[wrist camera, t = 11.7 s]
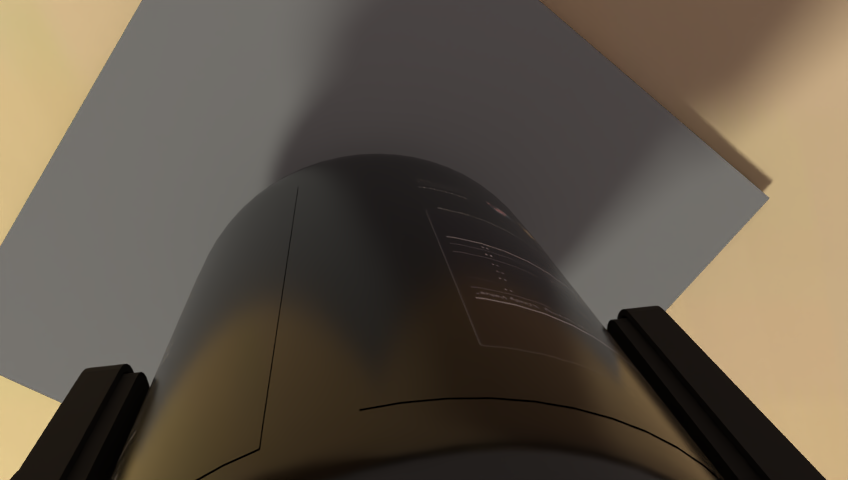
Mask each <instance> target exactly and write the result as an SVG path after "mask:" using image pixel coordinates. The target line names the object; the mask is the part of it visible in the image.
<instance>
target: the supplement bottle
mask: <svg viewBox="0 0 848 480" xmlns="http://www.w3.org/2000/svg"><path fill="white" fill-rule="evenodd" d="M110 480H725V479H724V478H723V477H722V476H721V474H720V473H719V472H718V471H717V469H716V468H715V467H714V465H713V464H712V463H711V462H710V460H709V459H708V458H707V457H706V455H705V454H704V453H703V451H702V450H701V449H700V448H699V446H698V445H697V444H696V443H695V441H694V440H693V439H692V437H691V436H690V435H689V434H688V432H687V431H686V430H685V429H684V427H683V426H682V425H681V424H680V422H679V421H678V420H677V418H676V417H675V416H674V415H673V413H672V412H671V411H670V410H669V408H668V407H667V406H666V405H665V403H664V402H663V401H662V399H661V398H660V397H659V396H658V394H657V393H656V392H655V391H654V389H653V388H652V387H651V386H650V384H649V383H648V382H647V380H646V379H645V378H644V377H643V375H642V374H641V373H640V372H639V370H638V369H637V368H636V366H635V365H634V364H633V363H632V361H631V360H630V359H629V358H628V356H627V355H626V354H625V353H624V351H623V350H622V349H621V347H620V346H619V345H618V344H617V342H616V341H615V340H614V339H613V337H612V336H611V335H610V334H609V332H608V331H607V330H606V328H605V327H604V326H603V325H602V323H601V322H600V321H599V320H598V318H597V317H596V316H595V315H594V313H593V312H592V311H591V309H590V308H589V307H588V306H587V304H586V303H585V302H584V301H583V299H582V298H581V297H580V295H579V294H578V293H577V292H576V290H575V289H574V288H573V287H572V285H571V284H570V283H569V282H568V280H567V279H566V278H565V276H564V275H563V274H562V273H561V271H560V270H559V269H558V268H557V266H556V265H555V264H554V263H553V261H552V260H551V259H550V257H549V256H548V255H547V254H546V252H545V251H544V250H543V249H542V247H541V246H540V245H539V244H538V242H537V241H536V240H535V238H534V237H533V236H532V235H531V234H530V232H529V231H528V230H527V229H526V228H525V227H524V226H523V224H522V223H521V222H520V221H519V220H518V219H517V218H516V216H515V215H514V214H513V213H512V212H511V211H510V209H509V208H508V207H507V206H506V205H504V204H503V203H502V202H501V201H500V200H499V199H498V198H497V197H496V196H495V195H493V194H492V193H491V192H490V191H488V190H487V189H486V188H484V187H483V186H482V185H480V184H479V183H477V182H476V181H474V180H472V179H471V178H469V177H467V176H466V175H464V174H462V173H460V172H457V171H455V170H453V169H451V168H449V167H446V166H443V165H440V164H438V163H435V162H432V161H428V160H424V159H420V158H416V157H410V156H403V155H396V154H360V155H352V156H345V157H339V158H335V159H331V160H327V161H323V162H319V163H316V164H314V165H311V166H308V167H305V168H302V169H300V170H298V171H296V172H294V173H292V174H290V175H287V176H285V177H284V178H282V179H280V180H279V181H277V182H275V183H274V184H272V185H270V186H269V187H267V188H266V189H265V190H263V191H262V192H261V193H259V194H258V195H256V196H255V197H254V198H253V199H252V200H251V201H250V202H249V203H247V204H246V205H245V206H244V207H243V208H242V209H241V210H240V211H239V212H238V213H237V214H236V216H235V217H234V218H233V219H232V220H231V221H230V222H229V224H228V225H227V226H226V228H225V229H224V231H223V232H222V233H221V235H220V236H219V238H218V239H217V240H216V242H215V244H214V246H213V247H212V249H211V251H210V253H209V254H208V256H207V258H206V260H205V262H204V265H203V267H202V269H201V271H200V273H199V275H198V277H197V279H196V281H195V284H194V286H193V288H192V291H191V293H190V295H189V298H188V300H187V302H186V305H185V307H184V309H183V311H182V314H181V316H180V318H179V321H178V323H177V325H176V328H175V330H174V332H173V335H172V337H171V339H170V342H169V344H168V346H167V349H166V351H165V353H164V356H163V358H162V360H161V362H160V365H159V367H158V369H157V372H156V374H155V376H154V379H153V381H152V383H151V386H150V388H149V390H148V393H147V395H146V397H145V400H144V402H143V404H142V407H141V409H140V411H139V413H138V416H137V418H136V420H135V423H134V425H133V427H132V430H131V432H130V434H129V437H128V439H127V441H126V444H125V446H124V448H123V451H122V453H121V455H120V457H119V460H118V462H117V464H116V467H115V469H114V471H113V474H112V476H111V478H110Z"/></svg>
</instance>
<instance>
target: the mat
mask: <svg viewBox="0 0 848 480" xmlns="http://www.w3.org/2000/svg"><path fill="white" fill-rule="evenodd" d="M360 154H396V155H403V156H410V157H416V158H420V159H424V160H428V161H432V162H435V163H438V164H440V165H443V166H446V167H449V168H451V169H453V170H455V171H457V172H460V173H462V174H464V175H466V176H467V177H469V178H471V179H472V180H474V181H476V182H477V183H479V184H480V185H482V186H483V187H484V188H486V189H487V190H488V191H490V192H491V193H492V194H493V195H495V196H496V197H497V198H498V199H499V200H500V201H501V202H502V203H503V204H504V205H506V206H507V207H508V208H509V209H510V211H511V212H512V213H513V214H514V215H515V216H516V218H517V219H518V220H519V221H520V222H521V223H522V224H523V226H524V227H525V228H526V229H527V230H528V231H529V232H530V234H531V235H532V236H533V237H534V238H535V240H536V241H537V242H538V244H539V245H540V246H541V247H542V249H543V250H544V251H545V252H546V254H547V255H548V256H549V257H550V259H551V260H552V261H553V263H554V264H555V265H556V266H557V268H558V269H559V270H560V271H561V273H562V274H563V275H564V276H565V278H566V279H567V280H568V282H569V283H570V284H571V285H572V287H573V288H574V289H575V290H576V292H577V293H578V294H579V295H580V297H581V298H582V299H583V301H584V302H585V303H586V304H587V306H588V307H589V308H590V309H591V311H592V312H593V313H594V315H595V316H596V317H597V318H598V320H599V321H600V322H601V323H602V325H603V326H604V327H605V328H606V330H607V325H608V322H609V321H610V320H613V319H617V316H618V314H619V312H620V311H621V310H622V309H629V308H638V307H647V306H660V307H661V308H662V309H663V310H664V311H666V310H667V309H668V308H669V307H670V306H671V304H672V303H673V302H674V301H675V300H676V299H677V298H678V297H679V296H680V295H681V294H682V293H683V291H684V290H685V289H686V288H687V287H688V286H689V285H690V284H691V283H692V282H693V281H694V280H695V278H696V277H697V276H698V275H699V274H700V273H701V272H702V271H703V270H704V269H705V268H706V266H707V265H708V264H709V263H710V262H711V261H712V260H713V259H714V258H715V257H716V256H717V255H718V253H719V252H720V251H721V250H722V249H723V248H724V247H725V246H726V245H727V244H728V243H729V242H730V240H731V239H732V238H733V237H734V236H735V235H736V234H737V233H738V232H739V231H740V230H741V229H742V227H743V226H744V225H745V224H746V223H747V222H748V221H749V220H750V219H751V218H752V217H753V216H754V214H755V213H756V212H757V211H758V210H759V209H760V208H761V207H762V206H763V205H764V204H765V203H766V201H767V200H768V199H769V197H768V196H767V195H765V194H764V193H763V192H762V191H761V190H760V189H758V188H757V187H756V186H755V185H754V184H753V183H751V182H750V181H749V180H748V179H747V178H746V177H744V176H743V175H742V174H741V173H740V172H739V171H737V170H736V169H735V168H734V167H733V166H732V165H730V164H729V163H728V162H727V161H726V160H725V159H723V158H722V157H721V156H720V155H719V154H718V153H716V152H715V151H714V150H713V149H712V148H711V147H709V146H708V145H707V144H706V143H705V142H704V141H702V140H701V139H700V138H699V137H698V136H697V135H695V134H694V133H693V132H692V131H691V130H690V129H688V128H687V127H686V126H685V125H684V124H683V123H681V122H680V121H679V120H678V119H677V118H676V117H674V116H673V115H672V114H671V113H670V112H669V111H667V110H666V109H665V108H664V107H663V106H662V105H660V104H659V103H658V102H657V101H656V100H655V99H653V98H652V97H651V96H650V95H649V94H648V93H646V92H645V91H644V90H643V89H642V88H641V87H639V86H638V85H637V84H636V83H635V82H634V81H632V80H631V79H630V78H629V77H628V76H627V75H625V74H624V73H623V72H622V71H621V70H620V69H618V68H617V67H616V66H615V65H614V64H613V63H611V62H610V61H609V60H608V59H607V58H606V57H604V56H603V55H602V54H601V53H600V52H599V51H597V50H596V49H595V48H594V47H593V46H592V45H590V44H589V43H588V42H587V41H586V40H585V39H583V38H582V37H581V36H580V35H579V34H578V33H576V32H575V31H574V30H573V29H572V28H571V27H569V26H568V25H567V24H566V23H565V22H564V21H562V20H561V19H560V18H559V17H558V16H557V15H555V14H554V13H553V12H552V11H551V10H550V9H548V8H547V7H546V6H545V5H544V4H543V3H541V2H540V1H539V0H142V1H141V3H140V5H139V7H138V8H137V10H136V12H135V14H134V15H133V17H132V19H131V20H130V22H129V24H128V26H127V27H126V29H125V31H124V33H123V34H122V36H121V38H120V40H119V41H118V43H117V45H116V47H115V48H114V50H113V52H112V53H111V55H110V57H109V59H108V60H107V62H106V64H105V66H104V67H103V69H102V71H101V73H100V74H99V76H98V78H97V80H96V81H95V83H94V85H93V86H92V88H91V90H90V92H89V93H88V95H87V97H86V99H85V100H84V102H83V104H82V106H81V107H80V109H79V111H78V113H77V114H76V116H75V118H74V119H73V121H72V123H71V125H70V126H69V128H68V130H67V132H66V133H65V135H64V137H63V139H62V140H61V142H60V144H59V146H58V147H57V149H56V151H55V152H54V154H53V156H52V158H51V159H50V161H49V163H48V165H47V166H46V168H45V170H44V172H43V173H42V175H41V177H40V179H39V180H38V182H37V184H36V185H35V187H34V189H33V191H32V192H31V194H30V196H29V198H28V199H27V201H26V203H25V205H24V206H23V208H22V210H21V212H20V213H19V215H18V217H17V218H16V220H15V222H14V224H13V225H12V227H11V229H10V231H9V232H8V234H7V236H6V238H5V239H4V241H3V243H2V245H1V246H0V375H1V376H3V377H5V378H8V379H10V380H12V381H14V382H16V383H19V384H21V385H23V386H25V387H28V388H30V389H32V390H34V391H36V392H39V393H41V394H43V395H45V396H47V397H50V398H52V399H54V400H56V401H59V402H61V403H62V402H63V401H64V399H65V397H66V396H67V394H68V393H69V391H70V390H71V388H72V387H73V385H74V383H75V382H76V380H77V379H78V377H79V376H80V374H81V373H82V371H83V370H84V369H86V368H92V367H101V366H110V365H119V364H128V365H130V366H131V368H132V369H133V371H134V373H136V372H143V373H144V374H145V375H146V377H147V380H148V383H149V387H150V386H151V383H152V381H153V379H154V376H155V374H156V372H157V369H158V367H159V365H160V362H161V360H162V358H163V356H164V353H165V351H166V349H167V346H168V344H169V342H170V339H171V337H172V335H173V332H174V330H175V328H176V325H177V323H178V321H179V318H180V316H181V314H182V311H183V309H184V307H185V305H186V302H187V300H188V298H189V295H190V293H191V291H192V288H193V286H194V284H195V281H196V279H197V277H198V275H199V273H200V271H201V269H202V267H203V265H204V262H205V260H206V258H207V256H208V254H209V253H210V251H211V249H212V247H213V246H214V244H215V242H216V240H217V239H218V238H219V236H220V235H221V233H222V232H223V231H224V229H225V228H226V226H227V225H228V224H229V222H230V221H231V220H232V219H233V218H234V217H235V216H236V214H237V213H238V212H239V211H240V210H241V209H242V208H243V207H244V206H245V205H246V204H247V203H249V202H250V201H251V200H252V199H253V198H254V197H255V196H256V195H258V194H259V193H261V192H262V191H263V190H265V189H266V188H267V187H269V186H270V185H272V184H274V183H275V182H277V181H279V180H280V179H282V178H284V177H285V176H287V175H290V174H292V173H294V172H296V171H298V170H300V169H302V168H305V167H308V166H311V165H314V164H316V163H319V162H323V161H327V160H331V159H335V158H339V157H345V156H352V155H360Z"/></svg>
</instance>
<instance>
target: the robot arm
mask: <svg viewBox="0 0 848 480" xmlns="http://www.w3.org/2000/svg"><path fill="white" fill-rule="evenodd" d="M607 331H608V332H609V334H610V335H611V336H612V337H613V339H614V340H615V341H616V342H617V344H618V345H619V346H620V347H621V349H622V350H623V351H624V353H625V354H626V355H627V356H628V358H629V359H630V360H631V361H632V363H633V364H634V365H635V366H636V368H637V369H638V370H639V372H640V373H641V374H642V375H643V377H644V378H645V379H646V380H647V382H648V383H649V384H650V386H651V387H652V388H653V389H654V391H655V392H656V393H657V394H658V396H659V397H660V398H661V399H662V401H663V402H664V403H665V405H666V406H667V407H668V408H669V410H670V411H671V412H672V413H673V415H674V416H675V417H676V418H677V420H678V421H679V422H680V424H681V425H682V426H683V427H684V429H685V430H686V431H687V432H688V434H689V435H690V436H691V437H692V439H693V440H694V441H695V443H696V444H697V445H698V446H699V448H700V449H701V450H702V451H703V453H704V454H705V455H706V457H707V458H708V459H709V460H710V462H711V463H712V464H713V465H714V467H715V468H716V469H717V471H718V472H719V473H720V474H721V476H722V477H723V478H724V479H725V480H826V479H825V478H824V477H823V476H822V475H821V474H820V473H819V472H818V471H817V470H816V468H815V467H814V466H813V465H812V464H811V463H810V462H809V461H808V460H807V459H806V458H805V457H804V456H803V455H802V454H801V453H800V452H799V451H798V450H797V449H796V448H795V447H794V445H793V444H792V443H791V442H790V441H789V440H788V439H787V438H786V437H785V436H784V435H783V434H782V433H781V432H780V431H779V430H778V429H777V428H776V427H775V426H774V425H773V424H772V422H771V421H770V420H769V419H768V418H767V417H766V416H765V415H764V414H763V413H762V412H761V411H760V410H759V409H758V408H757V407H756V406H755V405H754V404H753V403H752V402H751V401H750V399H749V398H748V397H747V396H746V395H745V394H744V393H743V392H742V391H741V390H740V389H739V388H738V387H737V386H736V385H735V384H734V383H733V382H732V381H731V380H730V379H729V378H728V376H727V375H726V374H725V373H724V372H723V371H722V370H721V369H720V368H719V367H718V366H717V365H716V364H715V363H714V362H713V361H712V360H711V359H710V358H709V357H708V356H707V355H706V353H705V352H704V351H703V350H702V349H701V348H700V347H699V346H698V345H697V344H696V343H695V342H694V341H693V340H692V339H691V338H690V337H689V336H688V335H687V334H686V333H685V332H684V330H683V329H682V328H681V327H680V326H679V325H678V324H677V323H676V322H675V321H674V320H673V319H672V318H671V317H670V316H669V315H668V314H667V313H666V312H665V311H664V310H663V309H662V308H661V307H660V306H647V307H638V308H629V309H622V310H621V311H620V312H619V314H618V316H617V319H613V320H610V321H609V322H608V325H607ZM149 388H150V387H149V383H148V380H147V377H146V375H145V374H144V373H143V372H136V373H134V371H133V369H132V368H131V366H130V365H128V364H119V365H110V366H101V367H92V368H86V369H84V370H83V371H82V373H81V374H80V376H79V377H78V379H77V380H76V382H75V383H74V385H73V387H72V388H71V390H70V391H69V393H68V394H67V396H66V397H65V399H64V401H63V402H62V404H61V405H60V407H59V408H58V410H57V411H56V413H55V415H54V416H53V418H52V419H51V421H50V422H49V424H48V425H47V427H46V429H45V430H44V432H43V433H42V435H41V436H40V438H39V439H38V441H37V443H36V444H35V446H34V447H33V449H32V450H31V452H30V453H29V455H28V457H27V458H26V460H25V461H24V463H23V464H22V466H21V468H20V469H19V471H17V472H16V473H15V474H14V475H13V477H12V478H11V479H10V480H110V478H111V476H112V474H113V471H114V469H115V467H116V464H117V462H118V460H119V457H120V455H121V453H122V451H123V448H124V446H125V444H126V441H127V439H128V437H129V434H130V432H131V430H132V427H133V425H134V423H135V420H136V418H137V416H138V413H139V411H140V409H141V407H142V404H143V402H144V400H145V397H146V395H147V393H148V390H149Z"/></svg>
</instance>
